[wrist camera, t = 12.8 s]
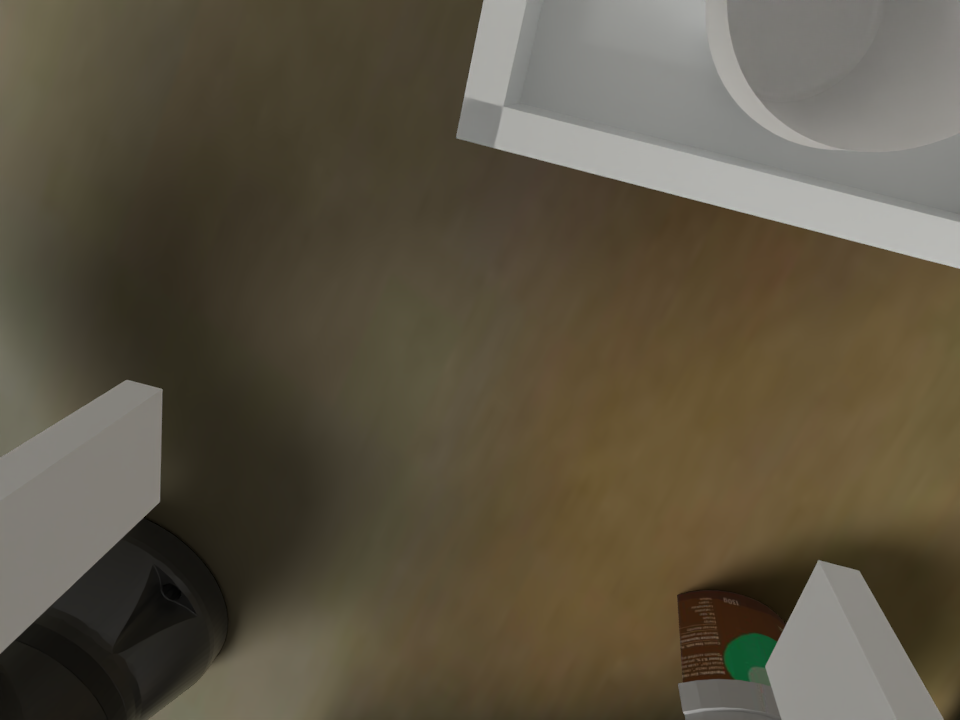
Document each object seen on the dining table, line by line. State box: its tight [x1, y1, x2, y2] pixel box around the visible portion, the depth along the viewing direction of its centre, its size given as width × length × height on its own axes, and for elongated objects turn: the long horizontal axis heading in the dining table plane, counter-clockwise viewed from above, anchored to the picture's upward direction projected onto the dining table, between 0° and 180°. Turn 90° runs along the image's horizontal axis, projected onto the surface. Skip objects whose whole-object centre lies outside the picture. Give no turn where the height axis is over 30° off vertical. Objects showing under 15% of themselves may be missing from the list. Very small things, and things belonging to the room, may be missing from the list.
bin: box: [456, 0, 960, 269], centre depth 26 cm, size 24×15×6 cm, turn 77°
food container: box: [677, 590, 786, 720], centre depth 36 cm, size 12×6×10 cm, turn 30°
